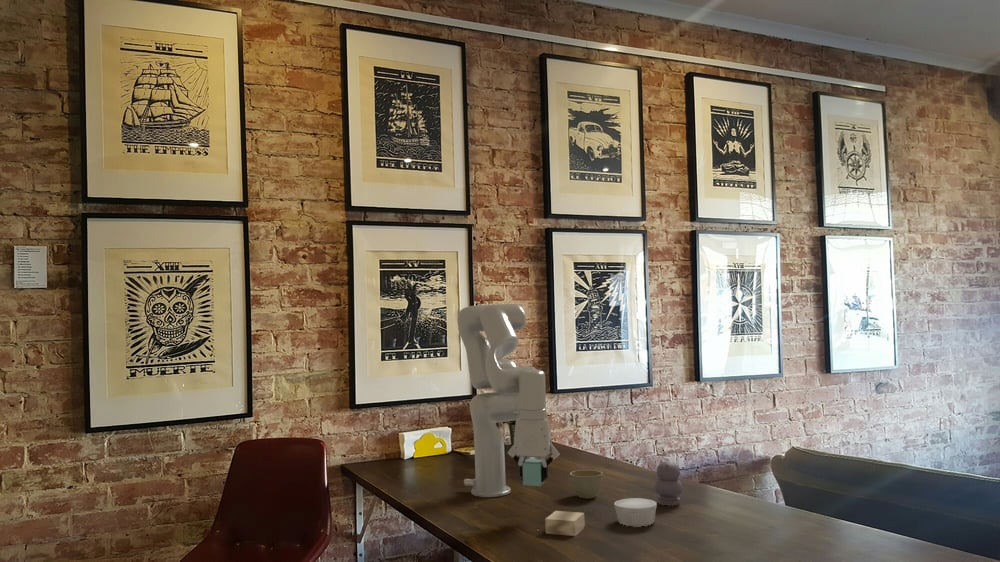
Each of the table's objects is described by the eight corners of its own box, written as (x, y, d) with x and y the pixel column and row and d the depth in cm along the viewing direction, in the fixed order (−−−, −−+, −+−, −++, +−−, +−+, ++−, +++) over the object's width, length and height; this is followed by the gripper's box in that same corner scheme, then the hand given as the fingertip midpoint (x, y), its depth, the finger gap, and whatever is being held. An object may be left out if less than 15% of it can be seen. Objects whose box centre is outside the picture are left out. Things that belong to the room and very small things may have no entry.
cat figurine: (687, 506, 211) (685, 463, 212) (660, 507, 211) (658, 465, 211) (678, 498, 220) (676, 458, 220) (652, 500, 219) (650, 459, 220)
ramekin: (612, 517, 203) (611, 498, 203) (653, 516, 203) (652, 496, 203) (617, 529, 192) (616, 509, 192) (661, 528, 192) (660, 507, 192)
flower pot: (602, 501, 221) (601, 476, 221) (569, 500, 223) (568, 476, 223) (604, 492, 230) (603, 469, 231) (572, 492, 232) (571, 469, 233)
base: (545, 534, 191) (545, 518, 191) (556, 525, 198) (555, 510, 198) (575, 537, 188) (574, 521, 188) (584, 528, 195) (584, 512, 195)
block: (523, 485, 204) (522, 463, 204) (527, 480, 209) (527, 459, 209) (540, 486, 203) (540, 464, 203) (545, 481, 207) (544, 459, 207)
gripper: (499, 416, 205) (500, 481, 205) (559, 418, 200) (561, 485, 200) (507, 411, 212) (508, 474, 212) (565, 413, 207) (566, 478, 207)
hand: (534, 479), depth 206 cm, fingers closed on block, 5 cm apart
